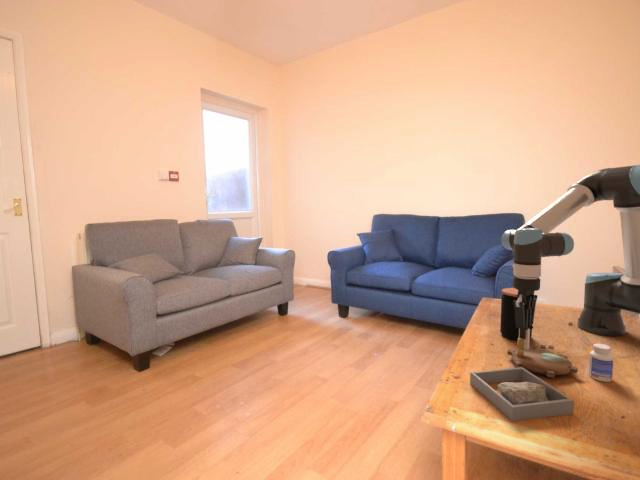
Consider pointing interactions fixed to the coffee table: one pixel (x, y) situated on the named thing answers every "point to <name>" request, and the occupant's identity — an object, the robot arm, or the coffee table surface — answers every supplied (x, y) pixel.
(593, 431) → the coffee table surface
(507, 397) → the decorative stone
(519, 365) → the turntable
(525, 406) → the stone tray
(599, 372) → the pill bottle
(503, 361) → the coffee table surface
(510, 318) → the coffee jar
